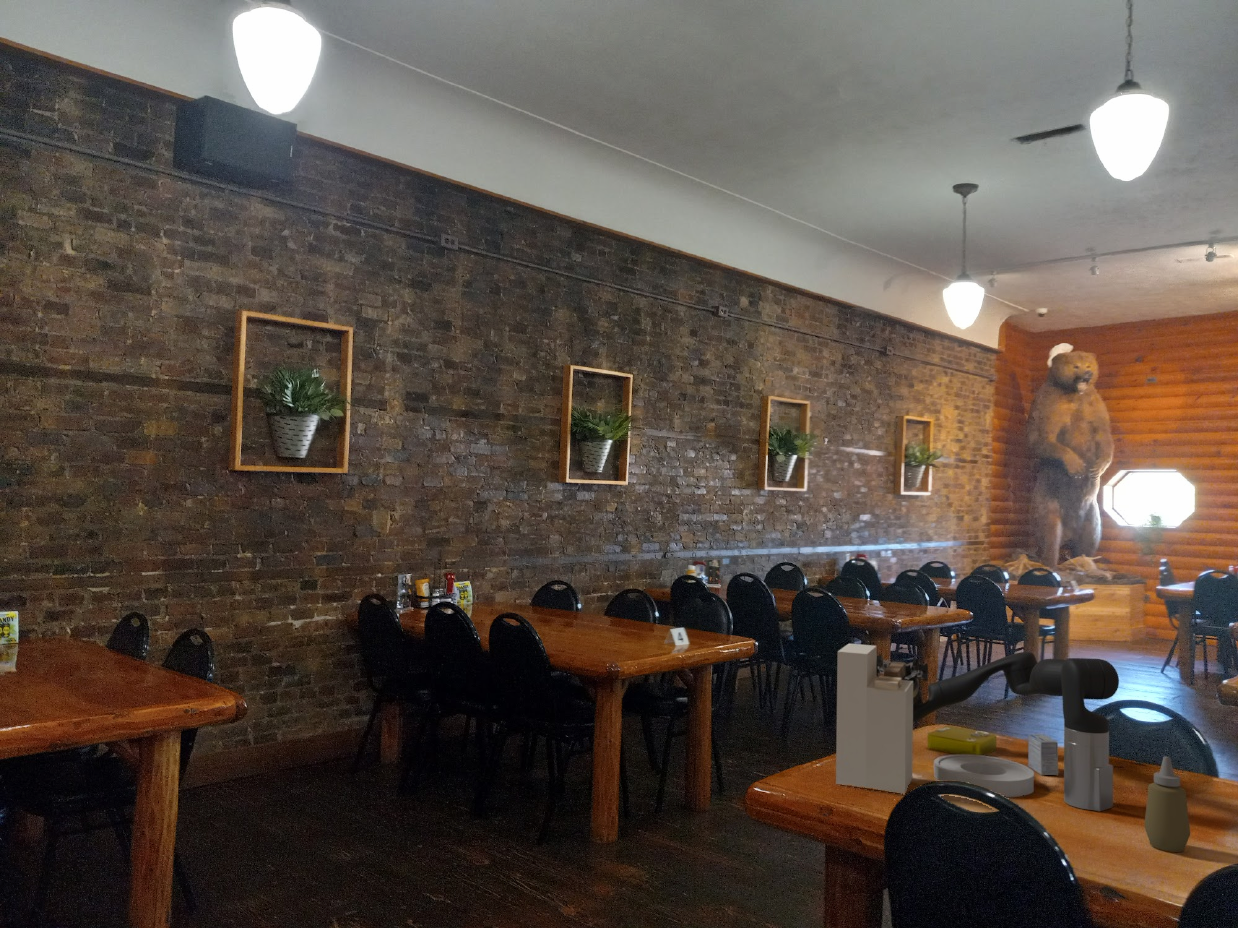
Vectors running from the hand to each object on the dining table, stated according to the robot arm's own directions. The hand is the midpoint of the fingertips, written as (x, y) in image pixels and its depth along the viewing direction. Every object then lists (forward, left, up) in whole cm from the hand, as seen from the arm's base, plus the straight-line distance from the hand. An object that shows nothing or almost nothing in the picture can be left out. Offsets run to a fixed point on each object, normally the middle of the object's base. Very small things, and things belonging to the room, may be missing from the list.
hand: (896, 659), depth 235 cm
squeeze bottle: (-63, -3, -29) cm, 70 cm away
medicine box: (-20, -33, -29) cm, 49 cm away
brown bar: (-4, +7, -4) cm, 9 cm away
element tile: (+5, -36, -29) cm, 46 cm away
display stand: (-2, +12, -28) cm, 31 cm away
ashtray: (-17, -11, -29) cm, 36 cm away
